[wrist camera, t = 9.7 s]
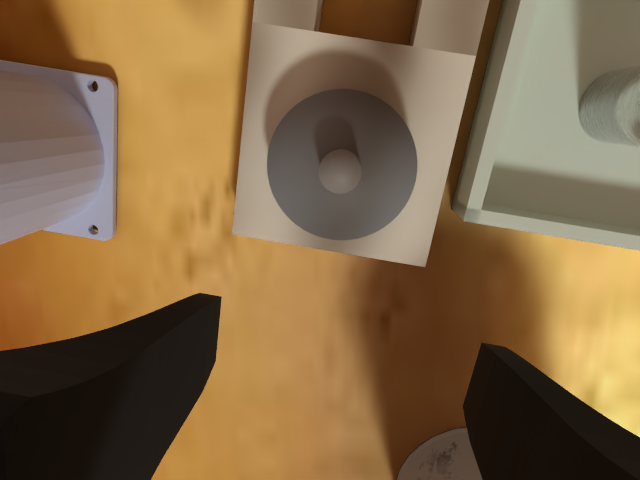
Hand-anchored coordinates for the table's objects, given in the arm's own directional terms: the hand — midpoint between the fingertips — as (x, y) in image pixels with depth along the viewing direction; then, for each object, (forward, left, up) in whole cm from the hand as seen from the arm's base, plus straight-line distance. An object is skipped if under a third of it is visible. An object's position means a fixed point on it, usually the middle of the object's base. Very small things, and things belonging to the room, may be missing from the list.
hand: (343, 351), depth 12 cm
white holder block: (-1, +8, -10) cm, 13 cm away
